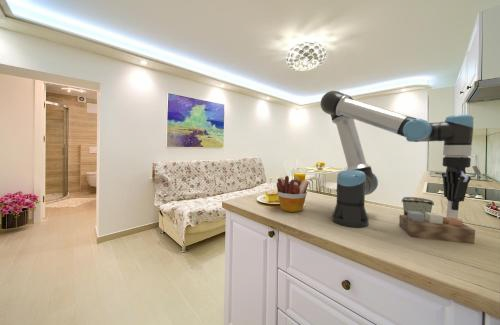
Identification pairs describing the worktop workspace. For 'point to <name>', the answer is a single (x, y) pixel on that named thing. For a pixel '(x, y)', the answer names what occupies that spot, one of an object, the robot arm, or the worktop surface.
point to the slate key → (415, 216)
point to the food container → (417, 205)
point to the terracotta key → (452, 221)
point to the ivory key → (433, 218)
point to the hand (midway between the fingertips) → (452, 217)
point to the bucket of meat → (291, 194)
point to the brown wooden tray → (437, 230)
